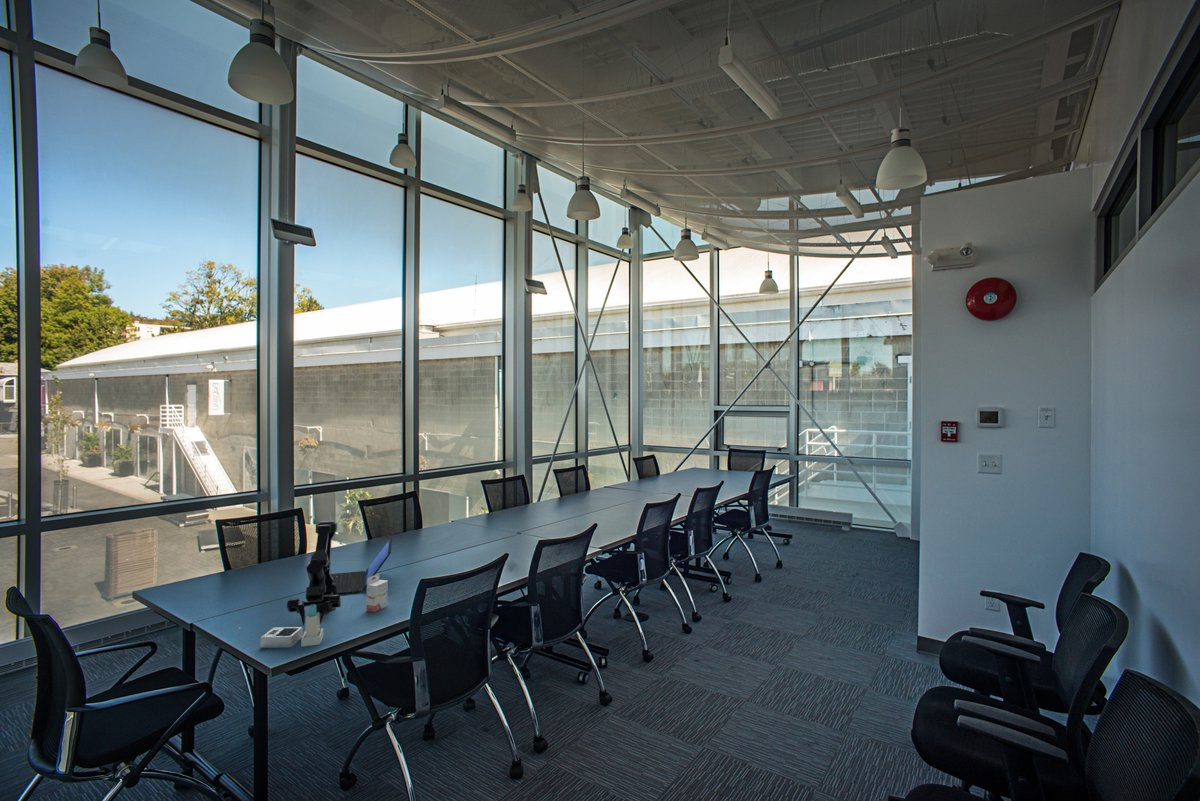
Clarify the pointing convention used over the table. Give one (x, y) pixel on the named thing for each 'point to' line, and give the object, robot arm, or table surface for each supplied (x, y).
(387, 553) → the laptop
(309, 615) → the plug
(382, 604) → the ink cartridge box
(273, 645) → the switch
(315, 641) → the box
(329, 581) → the robot arm
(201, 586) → the table surface
